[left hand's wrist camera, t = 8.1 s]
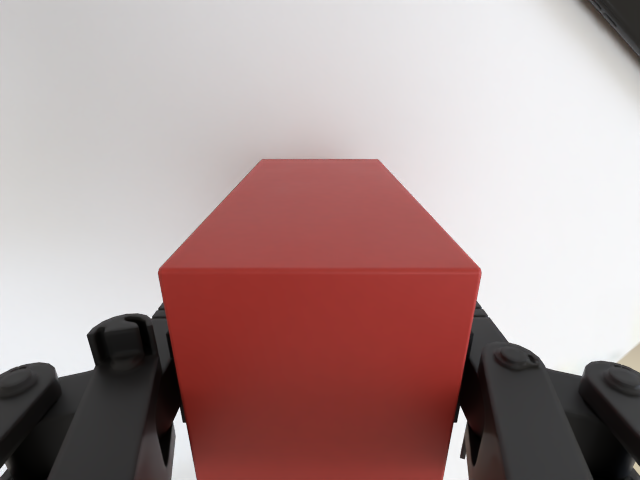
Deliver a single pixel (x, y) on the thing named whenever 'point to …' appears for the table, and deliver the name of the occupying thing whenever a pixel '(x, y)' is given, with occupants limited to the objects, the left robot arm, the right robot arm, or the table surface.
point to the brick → (319, 327)
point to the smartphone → (622, 19)
